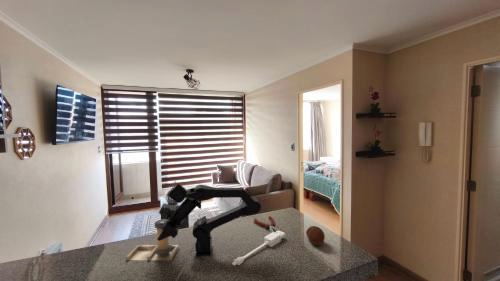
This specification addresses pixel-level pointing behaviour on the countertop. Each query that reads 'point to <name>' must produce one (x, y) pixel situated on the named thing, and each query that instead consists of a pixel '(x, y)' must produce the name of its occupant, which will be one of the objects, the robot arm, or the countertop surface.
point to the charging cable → (268, 240)
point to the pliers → (266, 224)
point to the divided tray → (150, 253)
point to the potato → (315, 235)
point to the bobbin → (164, 243)
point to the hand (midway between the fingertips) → (159, 236)
